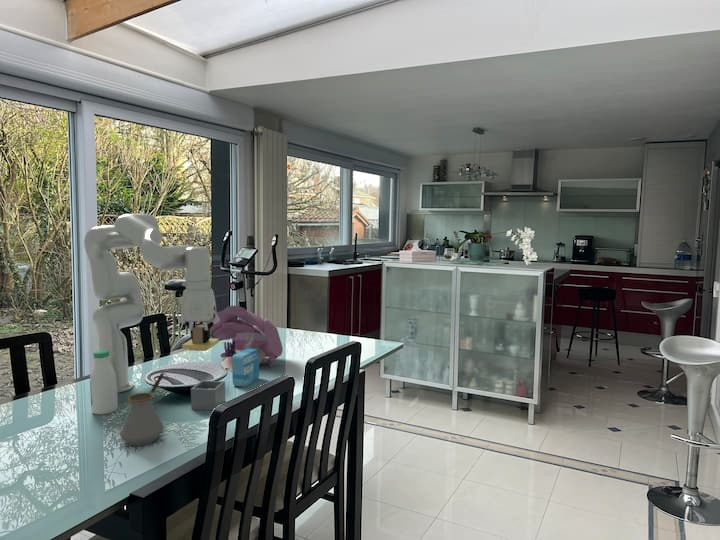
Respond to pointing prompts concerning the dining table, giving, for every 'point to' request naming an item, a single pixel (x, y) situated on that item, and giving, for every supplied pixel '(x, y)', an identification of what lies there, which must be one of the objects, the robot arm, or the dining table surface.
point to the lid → (199, 341)
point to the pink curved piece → (246, 335)
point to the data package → (245, 367)
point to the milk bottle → (103, 384)
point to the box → (207, 395)
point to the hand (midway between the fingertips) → (200, 341)
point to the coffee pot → (142, 419)
